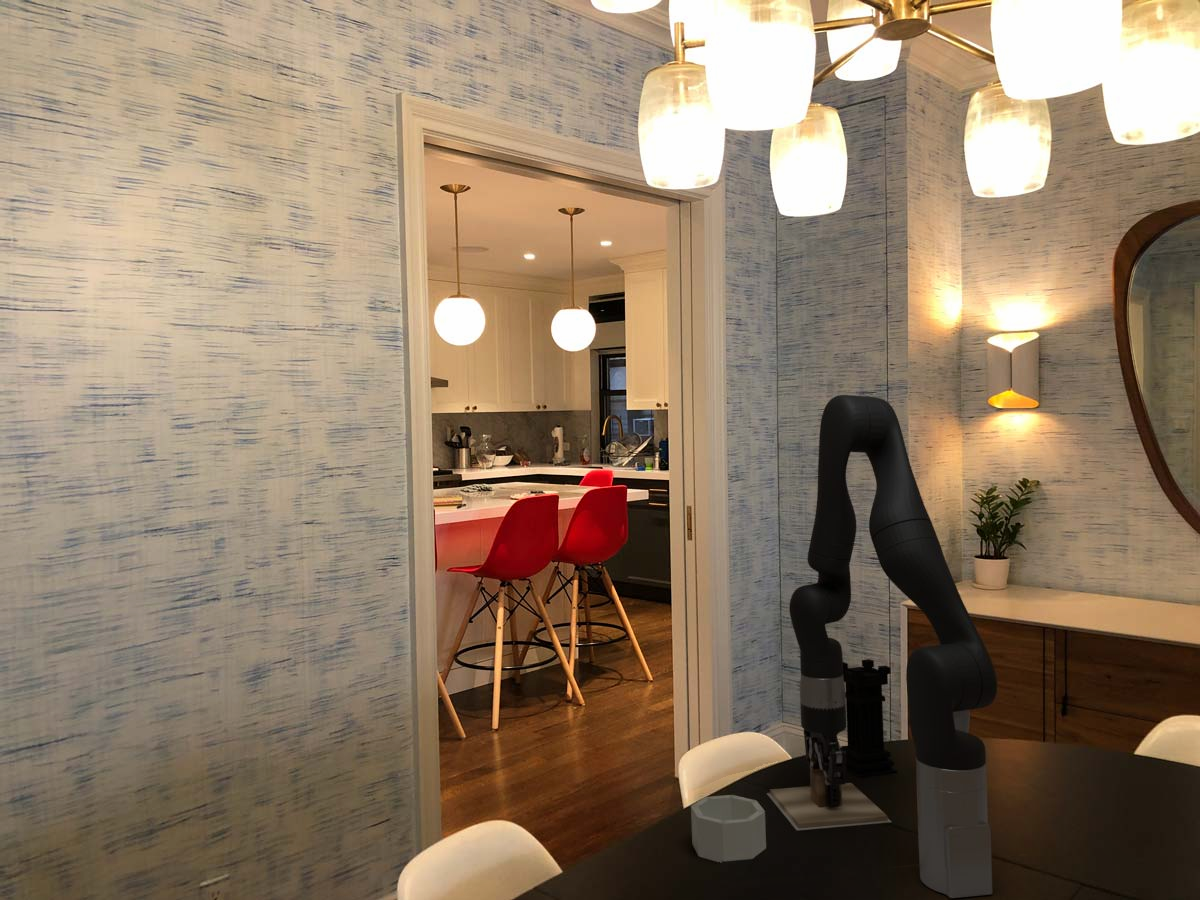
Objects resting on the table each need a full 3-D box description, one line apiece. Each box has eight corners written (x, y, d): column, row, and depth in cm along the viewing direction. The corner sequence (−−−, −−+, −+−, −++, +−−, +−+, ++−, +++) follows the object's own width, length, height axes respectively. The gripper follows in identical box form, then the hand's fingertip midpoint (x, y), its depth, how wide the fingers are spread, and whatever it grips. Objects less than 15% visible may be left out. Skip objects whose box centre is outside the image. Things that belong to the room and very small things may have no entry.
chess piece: (859, 780, 167) (855, 671, 167) (836, 766, 175) (833, 662, 175) (897, 774, 169) (893, 667, 169) (873, 761, 177) (869, 658, 177)
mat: (892, 824, 148) (892, 821, 148) (796, 832, 146) (796, 830, 146) (852, 788, 163) (852, 786, 163) (766, 795, 161) (766, 793, 161)
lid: (887, 820, 148) (886, 785, 148) (798, 828, 146) (797, 792, 146) (851, 787, 163) (850, 754, 163) (770, 794, 161) (769, 761, 161)
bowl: (772, 859, 137) (771, 819, 137) (703, 865, 135) (702, 825, 135) (752, 830, 147) (750, 793, 147) (688, 835, 146) (686, 798, 146)
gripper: (861, 710, 148) (864, 814, 148) (828, 688, 162) (831, 782, 162) (816, 713, 147) (820, 818, 147) (787, 690, 161) (790, 786, 161)
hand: (826, 799), depth 155 cm, fingers open, 5 cm apart
